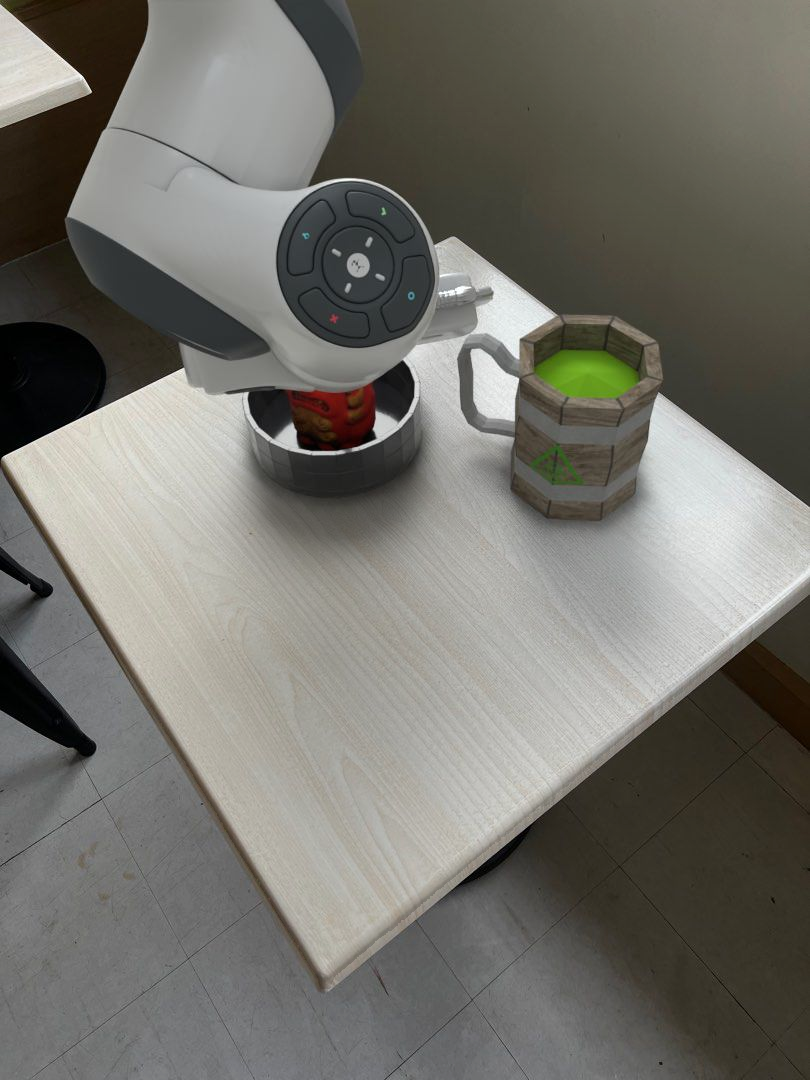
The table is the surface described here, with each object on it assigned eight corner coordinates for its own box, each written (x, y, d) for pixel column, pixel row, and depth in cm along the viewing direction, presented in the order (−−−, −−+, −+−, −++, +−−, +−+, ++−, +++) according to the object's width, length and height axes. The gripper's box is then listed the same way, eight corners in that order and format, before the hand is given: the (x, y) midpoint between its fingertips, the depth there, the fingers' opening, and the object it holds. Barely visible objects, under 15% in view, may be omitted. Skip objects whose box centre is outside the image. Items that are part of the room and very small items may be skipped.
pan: (265, 513, 71) (254, 471, 67) (243, 393, 80) (232, 350, 76) (440, 477, 73) (439, 434, 69) (400, 363, 82) (397, 320, 78)
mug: (656, 449, 74) (686, 335, 65) (613, 541, 68) (639, 431, 59) (483, 394, 79) (488, 281, 69) (430, 476, 73) (427, 365, 64)
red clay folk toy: (277, 441, 75) (245, 294, 63) (318, 389, 79) (295, 241, 67) (355, 468, 73) (337, 321, 61) (394, 413, 77) (384, 265, 65)
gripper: (491, 235, 54) (449, 277, 68) (156, 293, 52) (182, 324, 65) (509, 339, 55) (464, 360, 69) (180, 400, 53) (200, 409, 66)
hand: (324, 343), depth 67 cm, fingers open, 8 cm apart
